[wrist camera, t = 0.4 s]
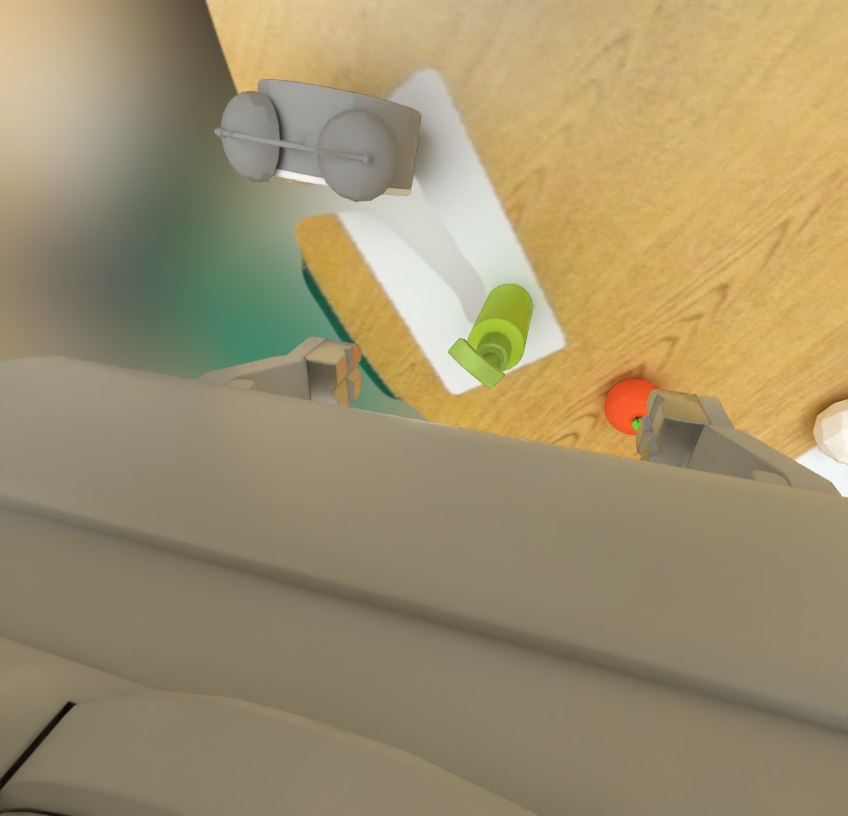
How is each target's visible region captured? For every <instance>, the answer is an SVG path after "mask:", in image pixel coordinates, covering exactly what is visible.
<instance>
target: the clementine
mask: <svg viewBox="0 0 848 816" xmlns="http://www.w3.org/2000/svg"><path fill="white" fill-rule="evenodd" d="M654 389H658V388H657V387H656V386H655V385H653V384H652V383H650V382H648V381H645V380H641V379H629V380H625V381H622V382H620V383H619V384H617V385H615V386H614V387H613V388H612V389H611V390H610V391H609V393H608V395H607V397H606V401H605V406H604V408H605V414H606V416H607V418H608V421H609V422H610V424H611V425H612V426H613V427H615V428H616V429H618V430H619V431H621V432H623V433H626V434H630V435H637V431H638V427H639V424H640V420H641V418H643V417H644V416H645V415H647V414H648V410H647V406H646V403H647V400H648V397H649V395H650V393H651V391H652V390H654Z"/></svg>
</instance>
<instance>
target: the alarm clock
mask: <svg viewBox="0 0 848 816" xmlns="http://www.w3.org/2000/svg"><path fill="white" fill-rule="evenodd" d="M420 121H421V114H420V113H419V112H418V111H416V110H414V109H412V108H409V107H407V106H404V105H400V104H397V103H394V102H390V101H387V100H383V99H379V98H376V97H371V96H367V95H363V94H359V93H354V92H350V91H345V90H340V89H335V88H330V87H325V86H319V85H313V84H308V83H301V82H294V81H287V80H276V79H262V80H260V81H259V82H258V92H255V91H246V92H242V93H240V94H238V95H236V96H235V97H233V98H232V99H231V100H230V102H229V103H228V105H227V107H226V109H225V111H224V114H223V118H222V123H221V127H218V128H216V129H215V130H214V132H215V134H217V135H218V137H221V138H222V143H223V147H224V150H225V153H226V155H227V158H228V160H229V161H230V163H231V165H232V167H233V168H234V169H235V170H236V171H237V172H238V173H239V174H241V175H242V176H243V177H245V178H247V179H249V180H251V181H255V182H266V181H269V179H270V178H271V177H272V176H273V175H274V176H279V177H283V178H287V179H292V180H291V181H288V182H294V181H302V182H307V183H313V184H318V185H323V186H329V187H331V188H332V189H333V190H334V191H335V192H336V193H337V194H338V195H340V196H342V197H344V198H347V199H350V200H353V201H355V202H358V201H371V200H372V199H374V198H376V197H378V196H380V195H381V194H385V195H397V196H407V195H410V194H411V187H412V181H413V173H414V166H415V158H416V151H417V143H418V136H419V129H420Z"/></svg>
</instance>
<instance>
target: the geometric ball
mask: <svg viewBox="0 0 848 816" xmlns="http://www.w3.org/2000/svg"><path fill="white" fill-rule="evenodd" d="M813 434H814V437H815V440H816V442H817V445H818V448H819V450H820V451H822V452H823V453H825V454H826V455H828V456H829V457H830V458H832V459H833V460H835V461H836V462H838V463H842V464H846V465H848V399H846V400H843V401H840V402H836V403H834V404H832V405H831V406H829V407H828V408H827V409H825V410H824V411H823V412H821V413H820V414H819V415H817V418H816V422H815V426H814V430H813Z"/></svg>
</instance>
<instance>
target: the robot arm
mask: <svg viewBox="0 0 848 816" xmlns="http://www.w3.org/2000/svg"><path fill="white" fill-rule="evenodd" d="M360 360H361V348H360V346H359V344H353V343H347V342H341V341H335V340H329V339H326V338H318V337H309V338H308V339H306V340H305V341H304V342H303V343H301V344H300V345H299V346H297V347H296V348H295V349H294V350H292V351H291V352H290V353H289V354H287V355H286V356H281V355H280V356H276V357H271V358H267V359H263V360H258V361H255V362H250V363H245V364H241V365H237V366H232V367H228V368H224V369H219V370H215V371H211V372H207V373H206V374H204V375H203V376H201V377H200V378H198V379H197V380H194V379H189V378H184V377H178V376H173V375H167V374H161V373H156V372H150V371H145V370H139V369H133V368H128V367H123V366H117V365H112V364H106V363H101V362H94V361H90V360H85V359H81V358H76V357H70V356H62V355H51V356H38V357H29V358H20V359H14V360H6V361H0V816H848V497H842V496H841V495H840V493H839V492H838V490H837V489H836V488H835V486H834V485H833V484H832V482H830V481H828V480H826V479H825V478H823V477H821V476H820V475H818V474H816V473H814V472H813V471H811V470H809V469H808V468H806V467H804V466H802V465H801V464H799V463H797V462H796V461H794V460H792V459H790V458H789V457H787V456H785V455H784V454H782V453H780V452H778V451H777V450H775V449H773V448H772V447H770V446H768V445H766V444H765V443H763V442H761V441H760V440H758V439H756V438H754V437H753V436H751V435H749V434H748V433H746V432H744V431H742V430H738V429H735V428H734V426H733V424H732V423H731V421H730V419H729V417H728V416H727V414H726V412H725V410H724V409H723V407H722V405H721V403H720V401H719V400H718V398H715V397H709V396H701V395H696V394H689V393H682V392H674V391H666V390H659V389H654V390H652V391H651V393H650V395H649V397H648V400H647V403H646V406H647V410H648V414H647V415H645V416H644V417H643V418H641V420H640V424H639V427H638V431H637V437H636V448H637V452H638V453H639V454H640V455H641V459H640V460H638V459H632V458H627V457H621V456H616V455H610V454H604V453H599V452H593V451H588V450H582V449H577V448H571V447H566V446H560V445H555V444H549V443H544V442H538V441H532V440H527V439H521V438H516V437H510V436H505V435H499V434H494V433H488V432H483V431H477V430H471V429H466V428H460V427H455V426H449V425H444V424H438V423H433V422H427V421H421V420H416V419H410V418H405V417H399V416H394V415H388V414H383V413H377V412H372V411H366V410H361V409H355V408H350V407H348V404H350V403H352V402H355V400H356V399H357V398H358V396H359V393H360V390H361V384H362V372H361V371H360V370H359V368H358V367H357V364H358V363H359V362H360Z"/></svg>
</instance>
